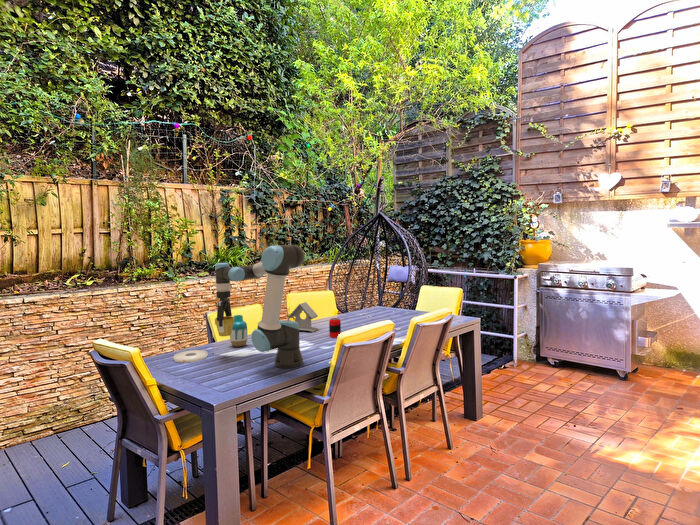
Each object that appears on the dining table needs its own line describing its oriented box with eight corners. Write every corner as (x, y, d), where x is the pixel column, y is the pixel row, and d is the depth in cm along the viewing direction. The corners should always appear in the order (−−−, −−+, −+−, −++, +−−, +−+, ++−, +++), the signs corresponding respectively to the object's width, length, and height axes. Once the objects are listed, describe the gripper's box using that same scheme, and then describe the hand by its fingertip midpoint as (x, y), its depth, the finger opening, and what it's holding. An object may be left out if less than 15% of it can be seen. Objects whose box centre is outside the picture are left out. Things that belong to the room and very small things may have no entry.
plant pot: (229, 337, 235) (228, 319, 234) (212, 337, 237) (211, 319, 236) (237, 333, 245) (237, 316, 244) (221, 332, 247) (220, 315, 247)
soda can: (340, 335, 291) (340, 317, 291) (340, 337, 284) (340, 319, 283) (329, 335, 291) (329, 317, 290) (329, 338, 284) (329, 320, 283)
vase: (226, 347, 264) (225, 316, 262) (236, 343, 274) (235, 313, 272) (241, 349, 260) (240, 317, 259) (251, 344, 270) (250, 314, 269)
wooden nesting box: (318, 330, 307) (317, 302, 306) (311, 333, 299) (311, 304, 297) (295, 328, 314) (294, 301, 313) (288, 331, 306) (288, 303, 304)
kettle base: (200, 362, 234) (200, 359, 233) (167, 362, 234) (167, 359, 234) (212, 353, 252) (212, 350, 251) (182, 353, 252) (181, 350, 252)
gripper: (223, 288, 251) (225, 325, 252) (209, 293, 228) (210, 334, 230) (236, 288, 251) (237, 325, 252) (223, 293, 228) (224, 334, 229)
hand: (225, 330), depth 241 cm, fingers closed on plant pot, 10 cm apart
